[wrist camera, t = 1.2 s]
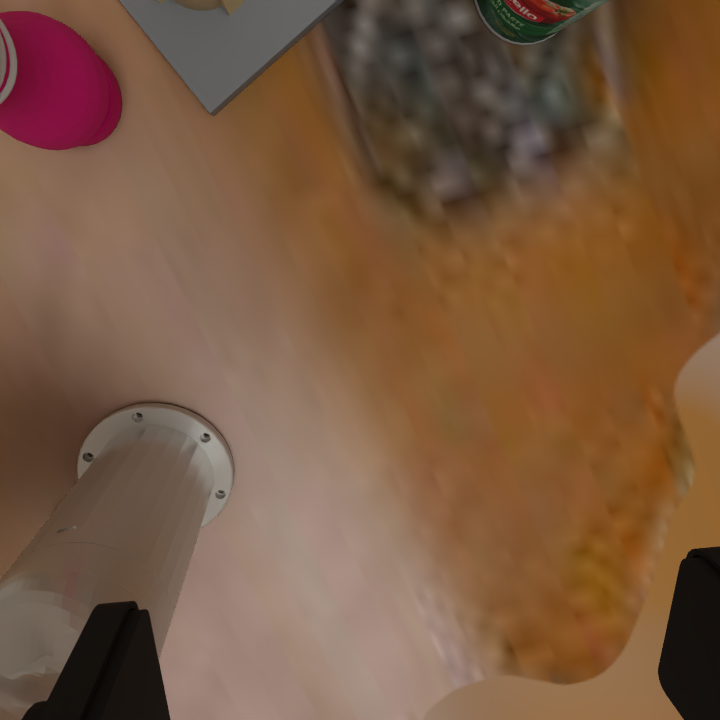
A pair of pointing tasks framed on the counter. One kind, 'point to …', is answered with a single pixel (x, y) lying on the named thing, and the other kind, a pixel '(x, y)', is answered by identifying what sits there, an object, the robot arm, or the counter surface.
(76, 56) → the pepper mill
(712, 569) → the robot arm
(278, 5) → the plate
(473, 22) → the counter surface
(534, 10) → the canned tomato
